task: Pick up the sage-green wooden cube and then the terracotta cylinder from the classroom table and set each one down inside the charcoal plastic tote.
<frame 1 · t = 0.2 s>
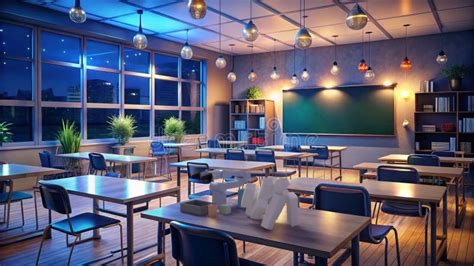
hand: (196, 177, 224), 21 cm above the table, tool horizontal, fingers open, 7 cm apart
tote: (198, 211, 227), on the table
sage cube: (225, 213, 223), on the table
terracotta cylinder: (212, 216, 214), on the table
pile of blocks: (268, 224, 200), on the table
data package: (247, 208, 235), on the table
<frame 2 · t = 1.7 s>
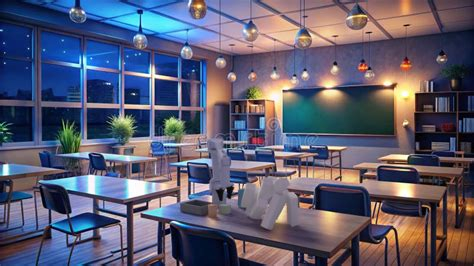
hand: (225, 199, 223), 8 cm above the table, tool pointing down, fingers open, 7 cm apart
nothing on the table moved.
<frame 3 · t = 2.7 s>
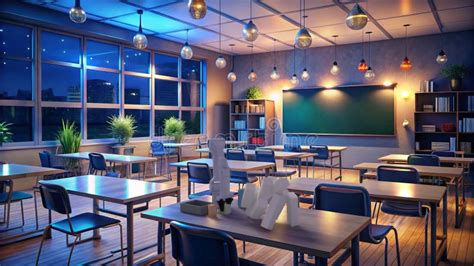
hand: (225, 210, 223), 1 cm above the table, tool pointing down, fingers closed on sage cube, 5 cm apart
sage cube: (225, 213, 223), on the table, touching gripper
everything else where it was.
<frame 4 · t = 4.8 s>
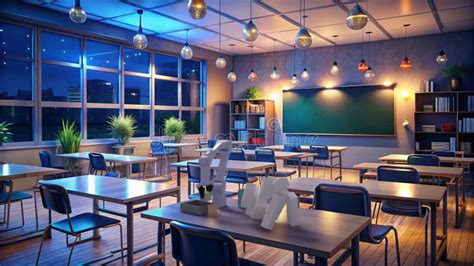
hand: (205, 197, 227), 8 cm above the table, tool pointing down, fingers closed on sage cube, 5 cm apart
sage cube: (205, 200, 227), point 7 cm above the table, touching gripper
everything else where it was.
when the fingers open (3 cm above the table, at t = 6.8 s): sage cube drops 1 cm, resting on tote.
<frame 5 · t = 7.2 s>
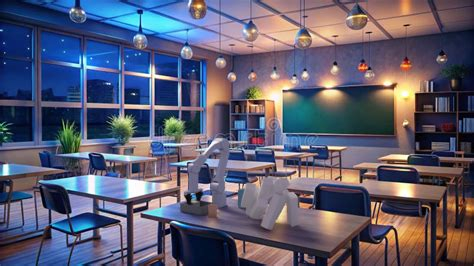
hand: (193, 204, 230), 3 cm above the table, tool pointing down, fingers open, 7 cm apart
sage cube: (194, 209, 230), resting on tote
everything else where it was.
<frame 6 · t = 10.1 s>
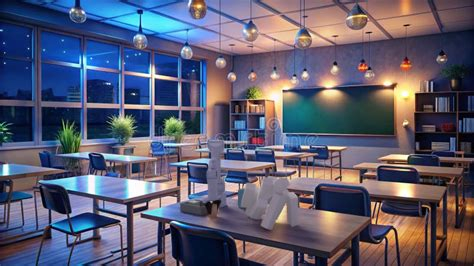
hand: (212, 213, 214), 2 cm above the table, tool pointing down, fingers closed on terracotta cylinder, 5 cm apart
terracotta cylinder: (212, 216, 214), on the table, touching gripper
everything else where it was.
when the fingers open (4 cm above the table, at t = 13.5 s): terracotta cylinder drops 1 cm, resting on tote.
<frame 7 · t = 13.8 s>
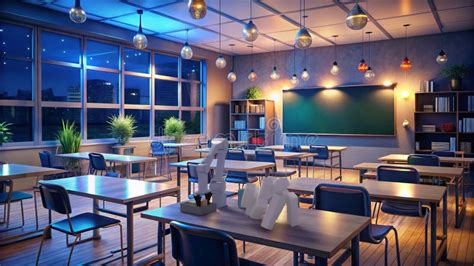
hand: (203, 205, 225), 4 cm above the table, tool pointing down, fingers open, 7 cm apart
terracotta cylinder: (203, 211, 225), point 1 cm above the table, touching tote
everything else where it was.
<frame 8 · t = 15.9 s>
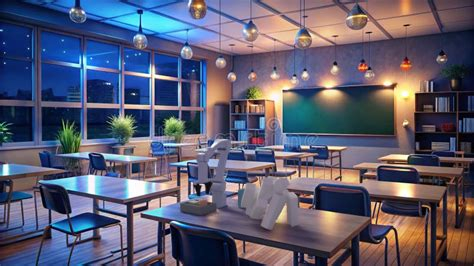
hand: (203, 195, 224), 10 cm above the table, tool pointing down, fingers open, 7 cm apart
nothing on the table moved.
at the end: sage cube inside the target area on the tote (3.7 cm from its centre), point 0.5 cm above the tote's base; terracotta cylinder inside the target area on the tote (4.1 cm from its centre), point 0.5 cm above the tote's base; the gripper is holding nothing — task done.
